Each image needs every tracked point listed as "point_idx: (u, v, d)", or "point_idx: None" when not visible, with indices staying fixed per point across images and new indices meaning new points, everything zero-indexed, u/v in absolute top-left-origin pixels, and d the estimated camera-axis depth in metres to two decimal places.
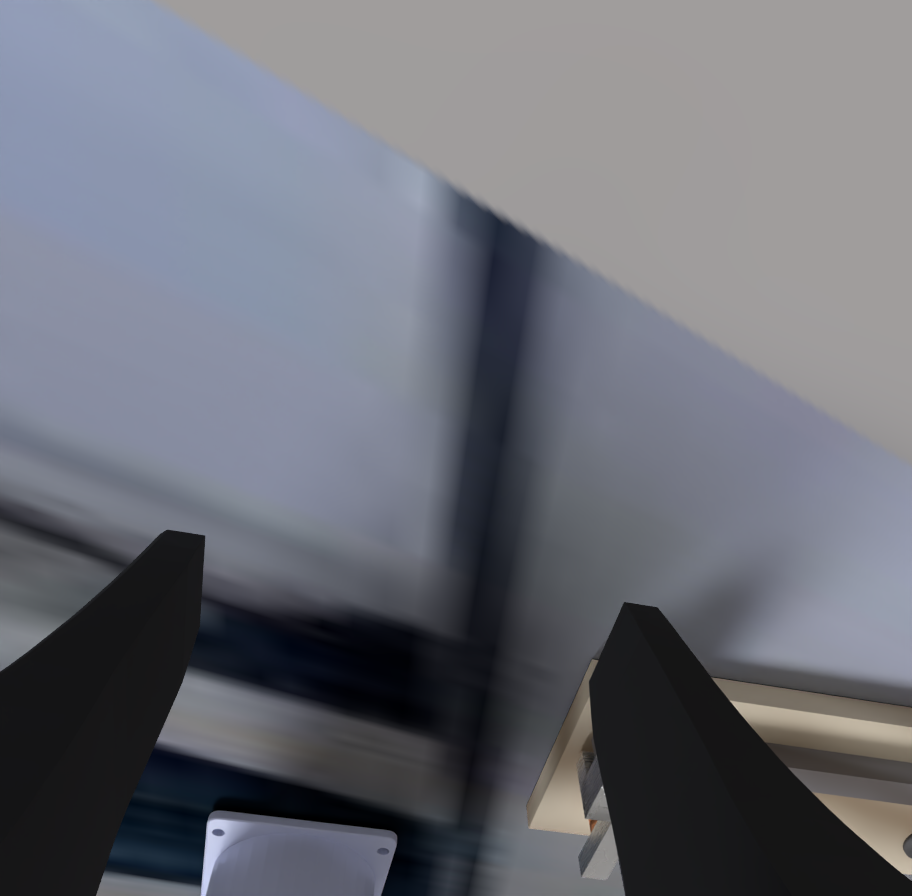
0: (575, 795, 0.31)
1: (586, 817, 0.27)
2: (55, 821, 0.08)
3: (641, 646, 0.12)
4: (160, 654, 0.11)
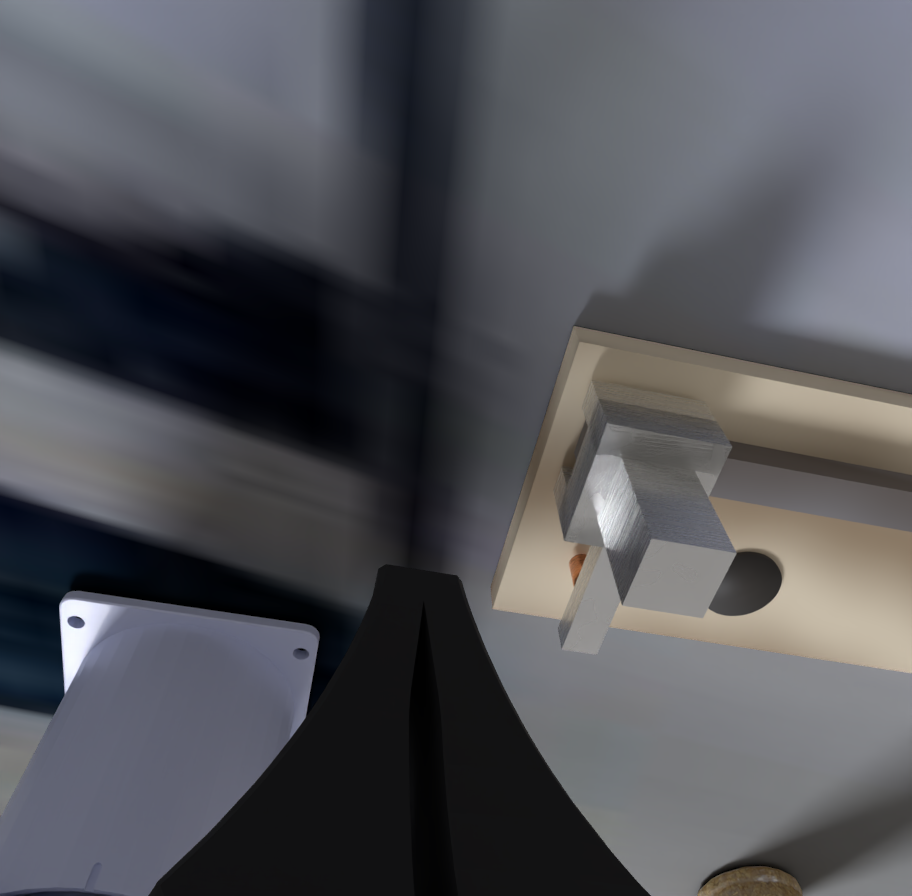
0: (554, 552, 0.22)
1: (566, 538, 0.19)
2: None
3: (422, 613, 0.12)
4: None
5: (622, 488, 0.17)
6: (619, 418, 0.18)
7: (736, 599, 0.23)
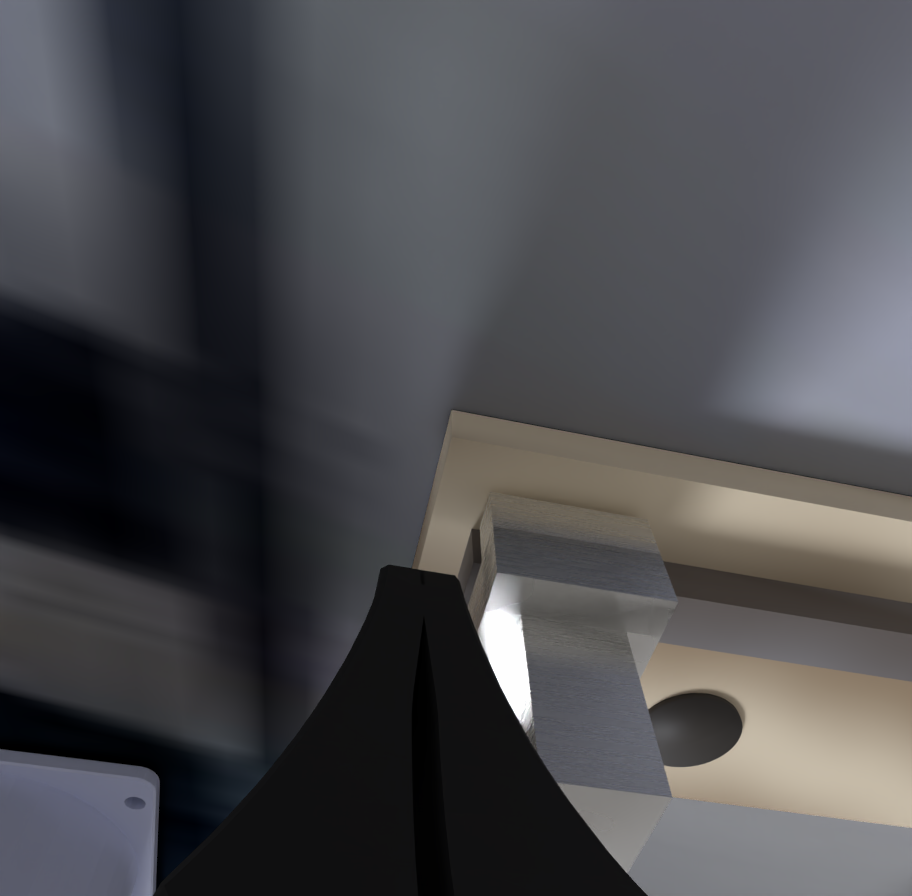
0: None
1: None
2: None
3: None
4: None
5: (518, 665, 0.12)
6: (517, 561, 0.12)
7: (684, 748, 0.18)
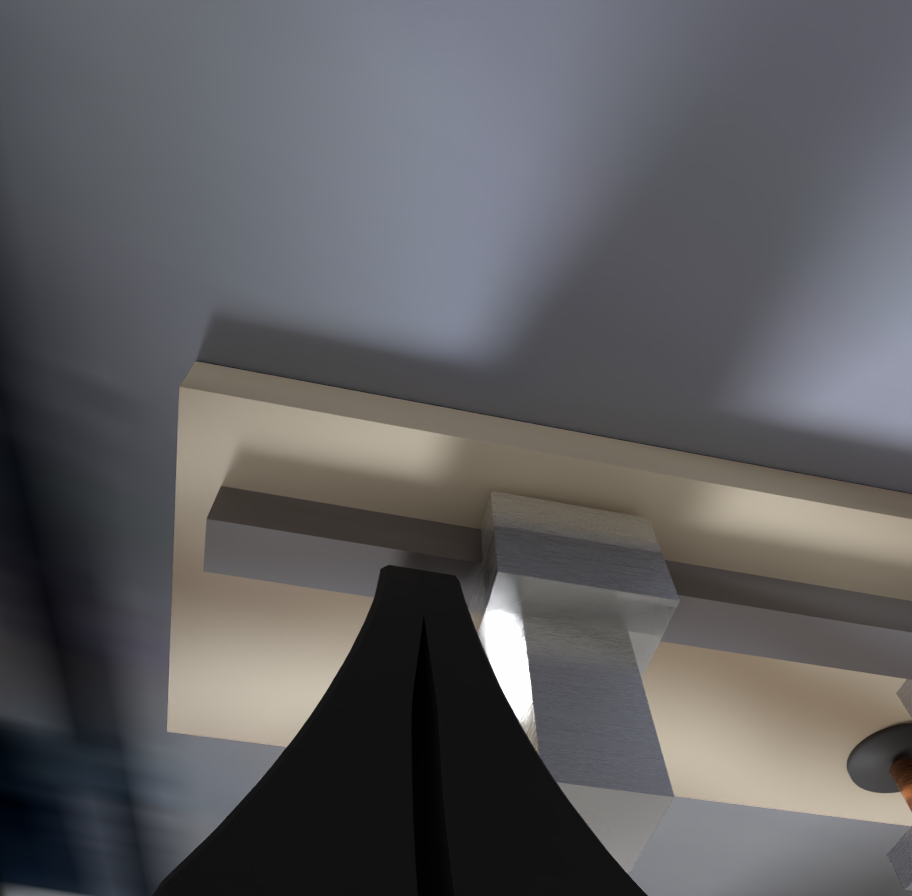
0: (228, 662, 0.16)
1: None
2: None
3: None
4: None
5: (520, 664, 0.12)
6: (518, 560, 0.12)
7: None
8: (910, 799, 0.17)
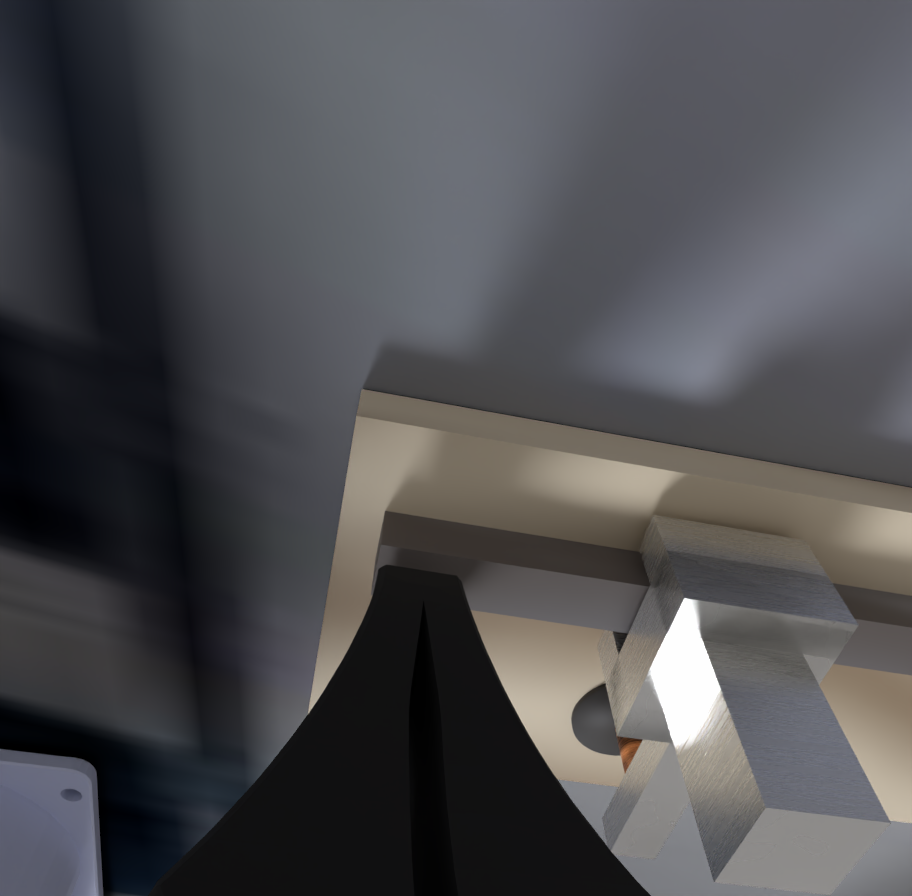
0: None
1: (620, 733, 0.14)
2: None
3: (422, 613, 0.12)
4: None
5: (705, 689, 0.12)
6: (699, 586, 0.13)
7: None
8: None
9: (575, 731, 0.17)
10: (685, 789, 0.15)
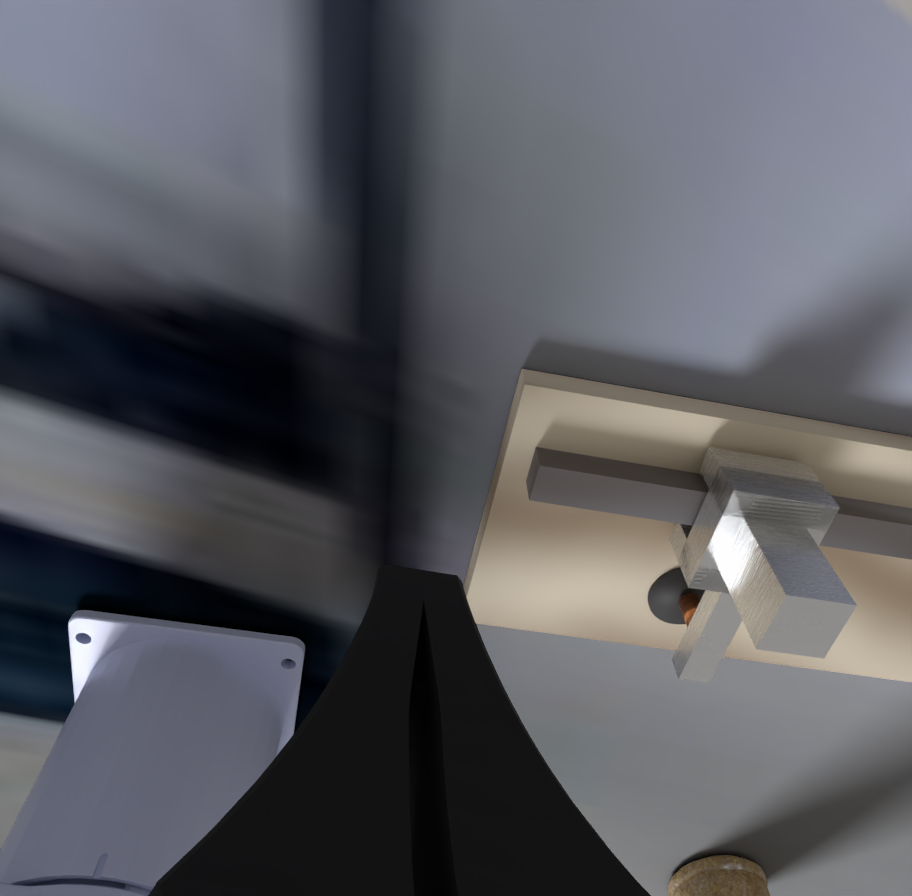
0: (513, 569, 0.25)
1: (690, 585, 0.22)
2: None
3: (422, 613, 0.12)
4: None
5: (747, 545, 0.20)
6: (742, 484, 0.20)
7: None
8: None
9: (650, 605, 0.25)
10: (730, 627, 0.23)
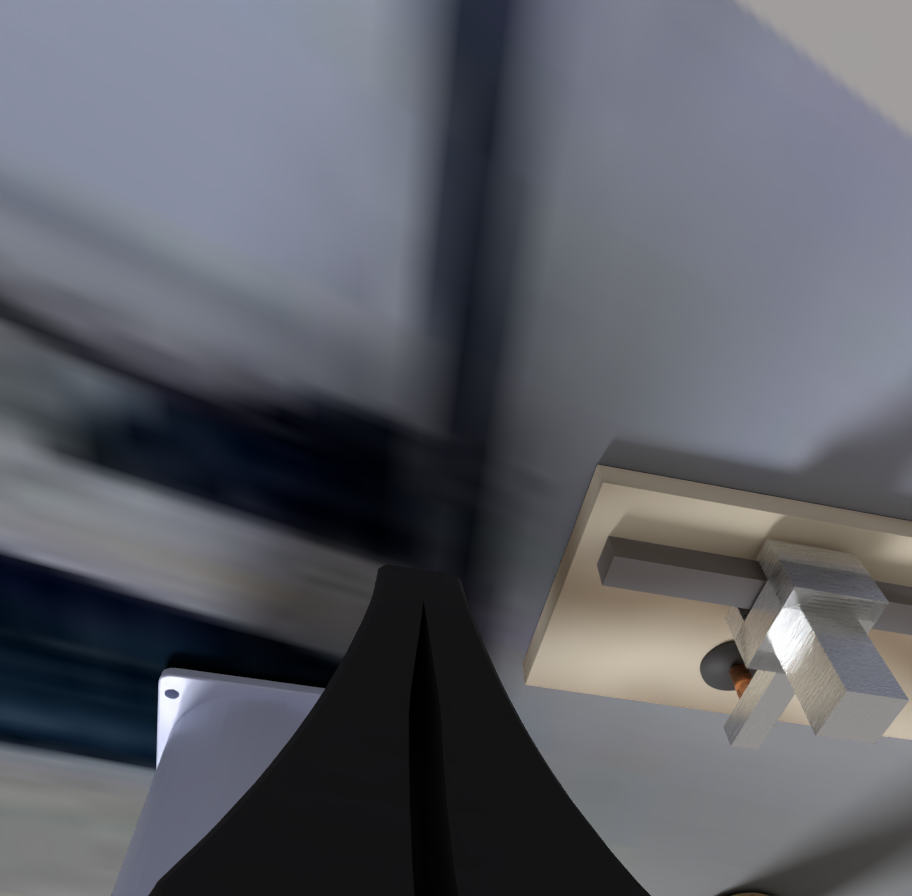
0: (578, 640, 0.27)
1: (748, 666, 0.24)
2: None
3: (422, 613, 0.12)
4: None
5: (805, 637, 0.22)
6: (801, 580, 0.23)
7: None
8: None
9: (702, 674, 0.27)
10: (782, 702, 0.25)
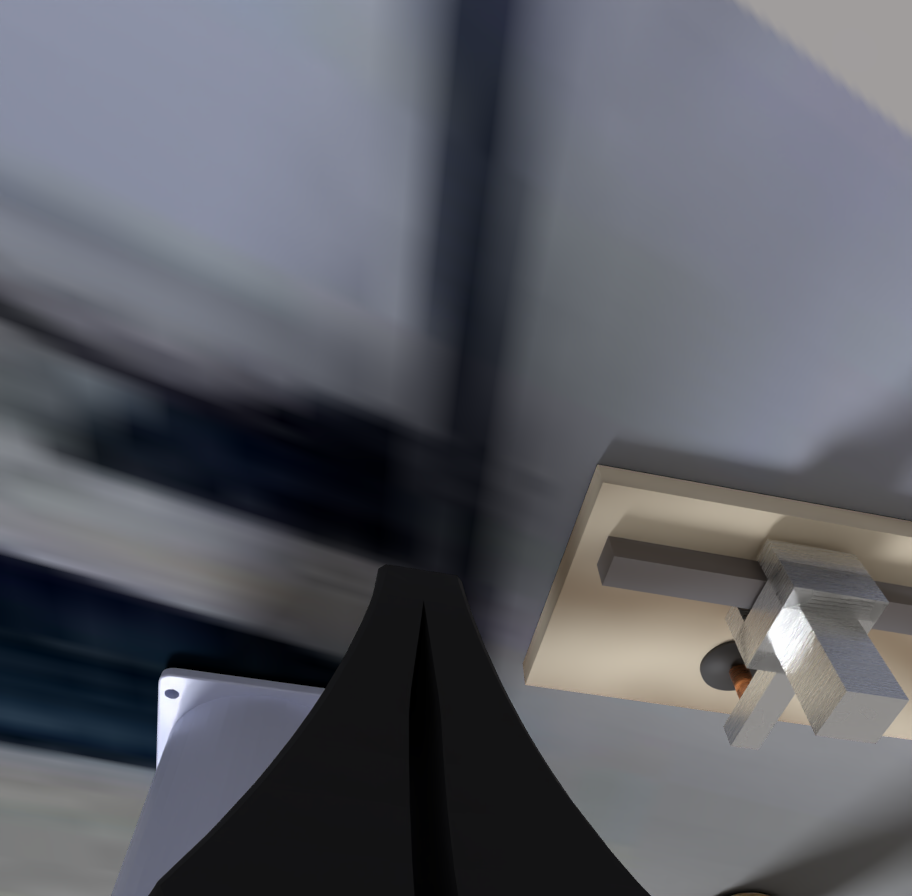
0: (578, 640, 0.27)
1: (748, 666, 0.24)
2: None
3: (422, 613, 0.12)
4: None
5: (805, 637, 0.22)
6: (801, 580, 0.23)
7: None
8: None
9: (702, 674, 0.27)
10: (782, 702, 0.25)
